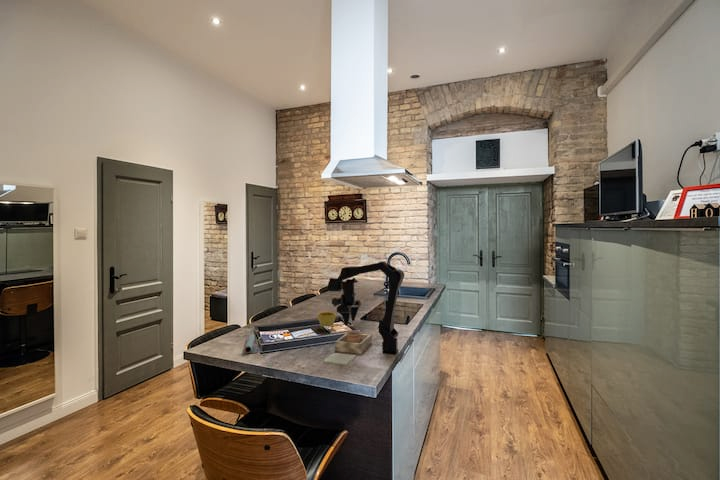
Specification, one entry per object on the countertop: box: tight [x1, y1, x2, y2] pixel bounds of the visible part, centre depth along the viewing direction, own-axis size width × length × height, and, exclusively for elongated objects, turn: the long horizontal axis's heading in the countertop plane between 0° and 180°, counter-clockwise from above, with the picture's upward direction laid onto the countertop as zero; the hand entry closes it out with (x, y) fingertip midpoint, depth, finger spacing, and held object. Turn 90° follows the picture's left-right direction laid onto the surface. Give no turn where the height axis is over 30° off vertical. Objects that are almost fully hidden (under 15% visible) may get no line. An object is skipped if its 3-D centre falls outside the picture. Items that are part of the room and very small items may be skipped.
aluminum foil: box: [244, 333, 259, 354], centre depth 174 cm, size 23×7×3 cm, turn 13°
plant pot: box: [317, 311, 337, 327], centre depth 200 cm, size 10×10×10 cm
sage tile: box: [323, 352, 356, 366], centre depth 152 cm, size 11×11×1 cm
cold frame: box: [334, 332, 373, 355], centre depth 169 cm, size 13×16×4 cm
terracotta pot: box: [346, 330, 362, 343], centre depth 169 cm, size 7×7×7 cm
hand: (349, 323), depth 169 cm, fingers open, 9 cm apart
